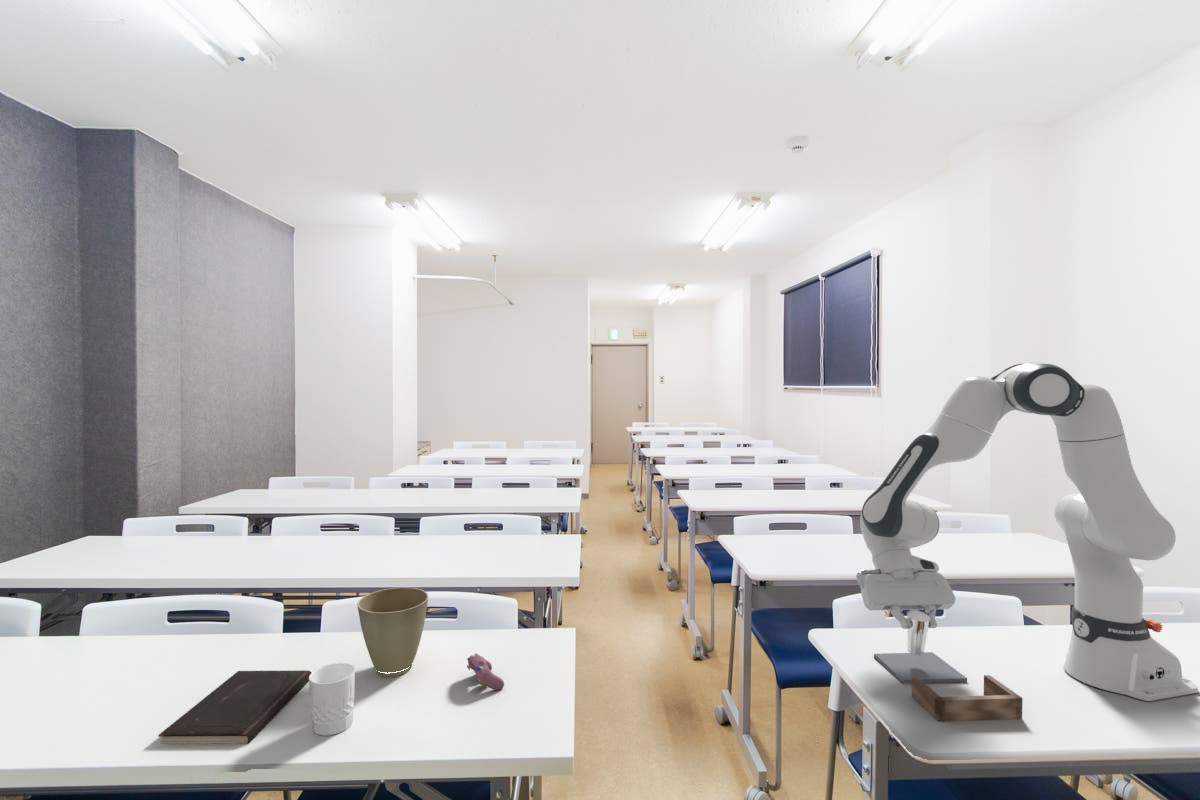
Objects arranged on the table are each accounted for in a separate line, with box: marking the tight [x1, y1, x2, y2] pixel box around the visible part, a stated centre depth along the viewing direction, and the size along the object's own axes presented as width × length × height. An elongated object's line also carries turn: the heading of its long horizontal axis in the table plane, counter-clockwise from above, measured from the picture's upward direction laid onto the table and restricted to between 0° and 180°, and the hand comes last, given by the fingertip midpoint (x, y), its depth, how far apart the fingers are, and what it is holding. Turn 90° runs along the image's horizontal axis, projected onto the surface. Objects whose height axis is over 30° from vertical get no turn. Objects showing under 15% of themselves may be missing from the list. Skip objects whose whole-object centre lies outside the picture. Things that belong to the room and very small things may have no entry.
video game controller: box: [466, 652, 505, 691], centre depth 124 cm, size 10×5×7 cm, turn 28°
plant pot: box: [356, 586, 429, 678], centre depth 130 cm, size 15×15×16 cm
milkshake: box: [906, 609, 934, 655], centre depth 130 cm, size 4×5×10 cm
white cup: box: [308, 662, 356, 737], centre depth 109 cm, size 8×8×10 cm
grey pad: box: [873, 651, 968, 685], centre depth 130 cm, size 14×12×1 cm
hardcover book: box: [158, 670, 312, 745], centre depth 115 cm, size 16×23×2 cm
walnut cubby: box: [911, 674, 1023, 722], centre depth 115 cm, size 16×9×4 cm, turn 93°
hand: (920, 627), depth 129 cm, fingers closed on milkshake, 4 cm apart
